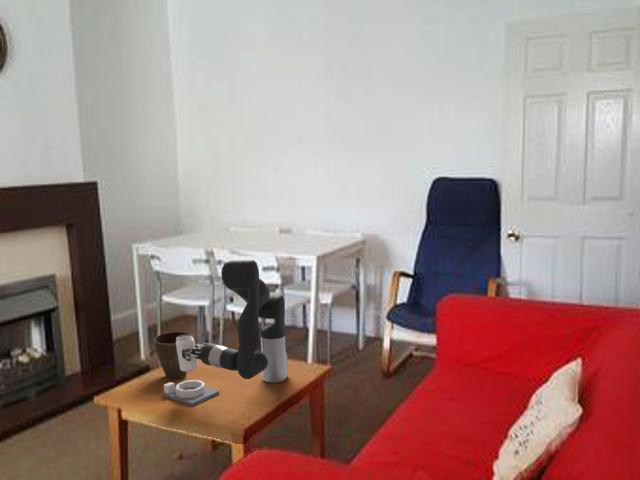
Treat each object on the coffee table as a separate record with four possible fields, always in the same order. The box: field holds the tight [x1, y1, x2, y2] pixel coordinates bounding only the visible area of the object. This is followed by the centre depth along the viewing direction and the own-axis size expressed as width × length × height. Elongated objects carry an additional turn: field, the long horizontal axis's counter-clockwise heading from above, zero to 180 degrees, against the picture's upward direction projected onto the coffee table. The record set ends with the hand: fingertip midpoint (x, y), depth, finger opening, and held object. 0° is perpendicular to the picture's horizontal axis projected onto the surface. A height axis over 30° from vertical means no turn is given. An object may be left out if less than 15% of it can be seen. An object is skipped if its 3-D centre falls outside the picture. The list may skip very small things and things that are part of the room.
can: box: [176, 333, 199, 373], centre depth 221 cm, size 6×6×12 cm
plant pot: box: [153, 331, 194, 381], centre depth 242 cm, size 15×15×16 cm
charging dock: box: [161, 379, 220, 407], centre depth 224 cm, size 13×16×4 cm
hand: (184, 347), depth 223 cm, fingers closed on can, 4 cm apart
